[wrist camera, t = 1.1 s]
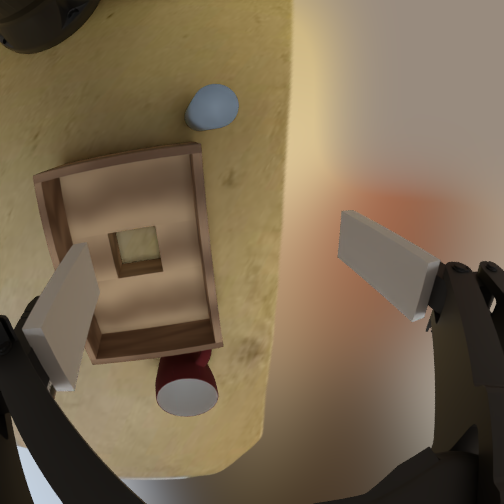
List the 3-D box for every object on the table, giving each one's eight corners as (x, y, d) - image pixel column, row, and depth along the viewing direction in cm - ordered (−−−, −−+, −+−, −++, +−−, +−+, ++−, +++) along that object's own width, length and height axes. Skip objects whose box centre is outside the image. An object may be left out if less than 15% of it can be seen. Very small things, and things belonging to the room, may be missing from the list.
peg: (183, 102, 30) (190, 85, 19) (214, 99, 31) (237, 83, 20) (185, 132, 31) (193, 130, 21) (216, 129, 32) (239, 126, 22)
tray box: (63, 164, 29) (32, 175, 21) (193, 141, 32) (201, 143, 24) (102, 321, 37) (92, 364, 29) (211, 305, 41) (223, 346, 33)
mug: (170, 308, 39) (174, 356, 31) (222, 324, 43) (238, 371, 34) (148, 360, 42) (148, 410, 33) (195, 373, 45) (204, 420, 36)
